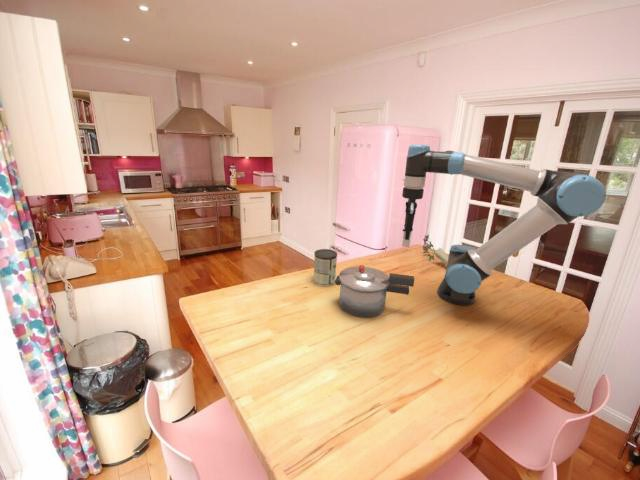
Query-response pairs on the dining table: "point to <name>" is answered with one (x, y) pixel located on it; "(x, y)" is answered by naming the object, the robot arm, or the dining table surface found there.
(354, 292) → the pot
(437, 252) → the flower vase
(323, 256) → the coffee can
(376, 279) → the lid
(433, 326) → the dining table surface
